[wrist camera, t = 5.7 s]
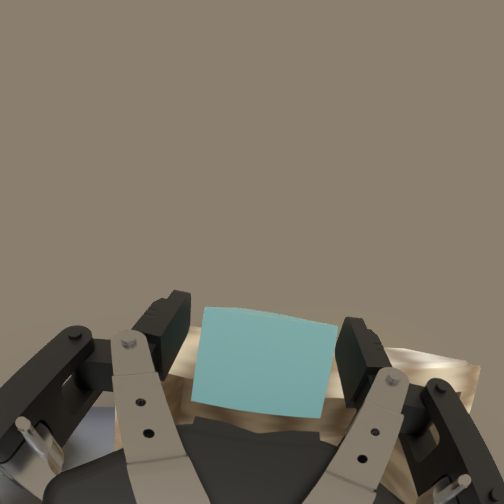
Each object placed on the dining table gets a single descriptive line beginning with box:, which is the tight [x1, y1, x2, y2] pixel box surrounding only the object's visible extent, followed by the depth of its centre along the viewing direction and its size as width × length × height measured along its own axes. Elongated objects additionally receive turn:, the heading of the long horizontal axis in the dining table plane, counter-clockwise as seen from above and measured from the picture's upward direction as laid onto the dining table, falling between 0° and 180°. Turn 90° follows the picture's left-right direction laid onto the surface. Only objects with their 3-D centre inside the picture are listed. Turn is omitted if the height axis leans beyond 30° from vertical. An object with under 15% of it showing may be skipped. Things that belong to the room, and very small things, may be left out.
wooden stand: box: [115, 326, 481, 504], centre depth 20 cm, size 28×14×34 cm, turn 89°
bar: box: [191, 307, 338, 418], centre depth 18 cm, size 4×22×3 cm, turn 179°
